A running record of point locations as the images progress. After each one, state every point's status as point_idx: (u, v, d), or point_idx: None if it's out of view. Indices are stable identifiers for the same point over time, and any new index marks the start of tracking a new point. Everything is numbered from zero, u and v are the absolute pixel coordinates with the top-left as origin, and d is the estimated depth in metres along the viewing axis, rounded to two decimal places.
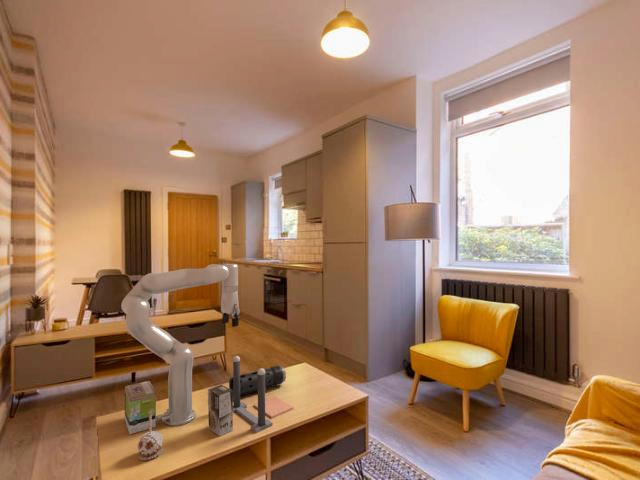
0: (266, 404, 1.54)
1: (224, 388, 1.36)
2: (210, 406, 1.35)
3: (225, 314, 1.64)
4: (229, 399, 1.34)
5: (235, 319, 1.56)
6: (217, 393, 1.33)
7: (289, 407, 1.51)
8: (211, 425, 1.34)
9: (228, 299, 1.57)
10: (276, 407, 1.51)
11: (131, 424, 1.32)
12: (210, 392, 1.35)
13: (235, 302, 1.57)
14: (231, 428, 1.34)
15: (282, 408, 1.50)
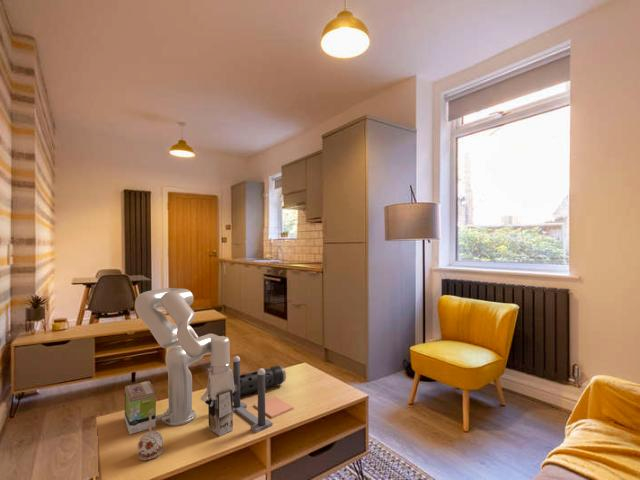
0: (266, 404, 1.54)
1: None
2: None
3: (212, 403, 1.33)
4: (229, 399, 1.34)
5: None
6: None
7: (289, 407, 1.51)
8: (211, 425, 1.34)
9: (231, 377, 1.36)
10: (276, 407, 1.51)
11: (131, 424, 1.32)
12: None
13: None
14: (231, 428, 1.34)
15: (282, 408, 1.50)
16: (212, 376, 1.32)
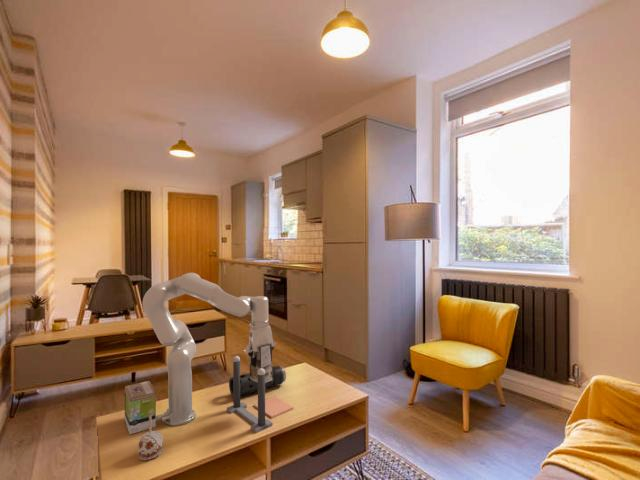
0: (266, 404, 1.54)
1: None
2: None
3: None
4: (269, 352, 1.47)
5: None
6: None
7: (289, 407, 1.51)
8: (252, 376, 1.48)
9: (270, 332, 1.49)
10: (276, 407, 1.51)
11: (131, 424, 1.32)
12: None
13: None
14: (271, 378, 1.47)
15: (282, 408, 1.50)
16: (254, 330, 1.45)
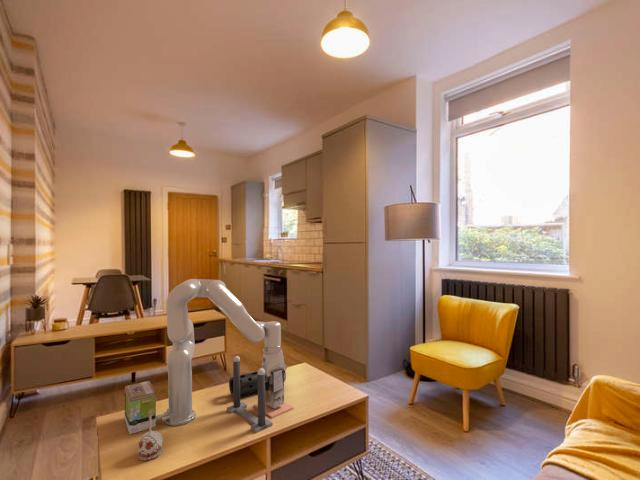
0: None
1: None
2: None
3: None
4: (281, 376, 1.51)
5: None
6: None
7: (289, 407, 1.51)
8: (265, 399, 1.52)
9: (282, 357, 1.54)
10: (276, 407, 1.51)
11: (131, 424, 1.32)
12: None
13: None
14: (283, 402, 1.52)
15: (282, 408, 1.50)
16: (267, 355, 1.49)
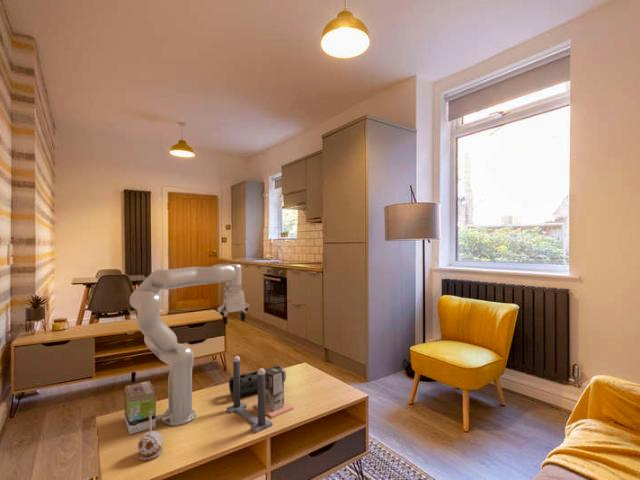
0: None
1: (275, 370, 1.54)
2: None
3: None
4: (281, 379, 1.51)
5: None
6: (270, 373, 1.50)
7: (289, 407, 1.51)
8: (265, 402, 1.52)
9: (242, 296, 1.67)
10: None
11: (131, 424, 1.32)
12: None
13: None
14: (283, 405, 1.51)
15: (282, 408, 1.50)
16: (227, 293, 1.62)
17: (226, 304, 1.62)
